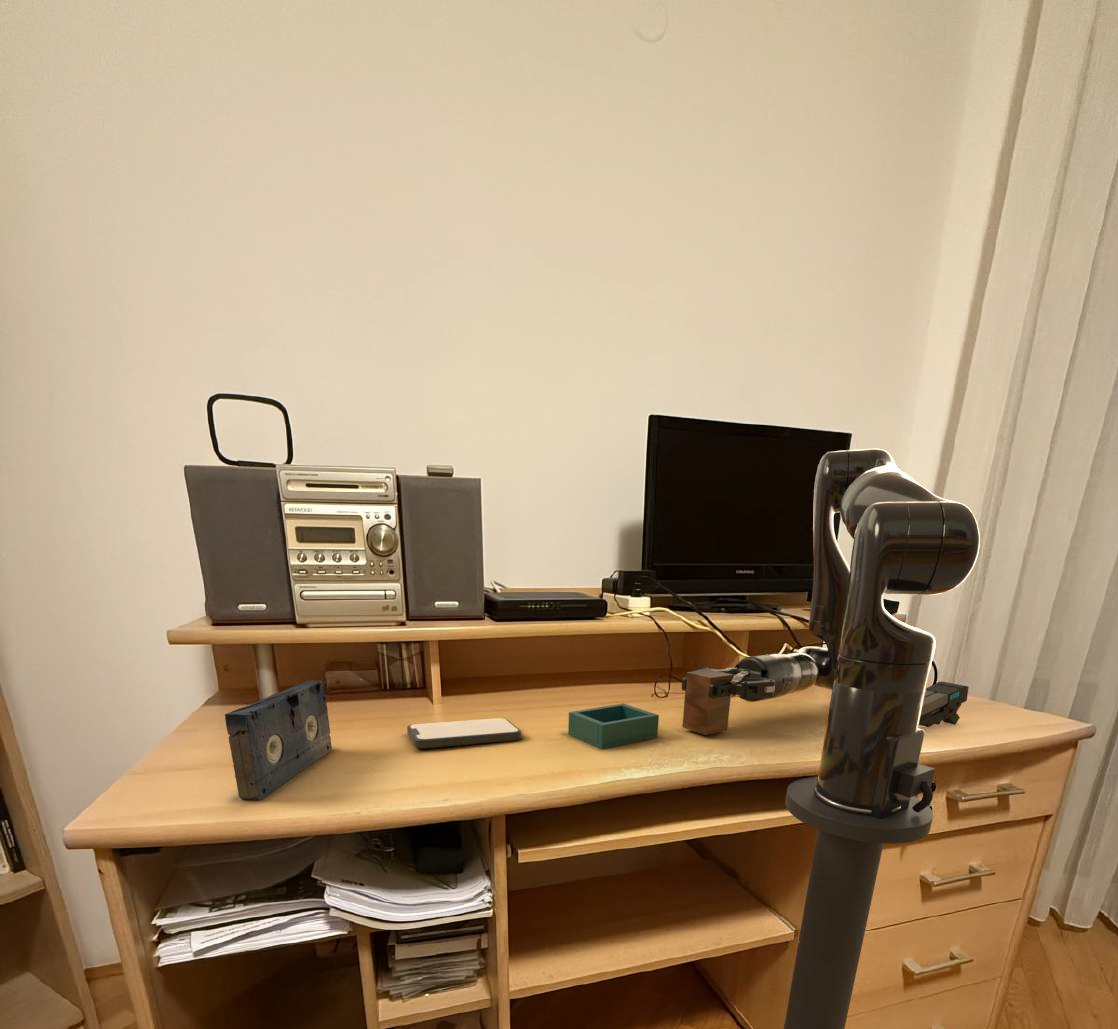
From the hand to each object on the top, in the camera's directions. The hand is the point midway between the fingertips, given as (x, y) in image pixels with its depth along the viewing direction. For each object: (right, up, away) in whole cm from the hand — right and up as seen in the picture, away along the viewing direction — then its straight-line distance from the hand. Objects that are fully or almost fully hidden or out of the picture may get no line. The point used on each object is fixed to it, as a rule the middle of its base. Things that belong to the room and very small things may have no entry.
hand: (697, 687), depth 91 cm
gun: (+38, -7, +7) cm, 39 cm away
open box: (-13, -7, +1) cm, 15 cm away
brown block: (+2, -6, +4) cm, 7 cm away
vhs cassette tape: (-55, -12, -16) cm, 59 cm away
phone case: (-36, -8, -1) cm, 36 cm away
